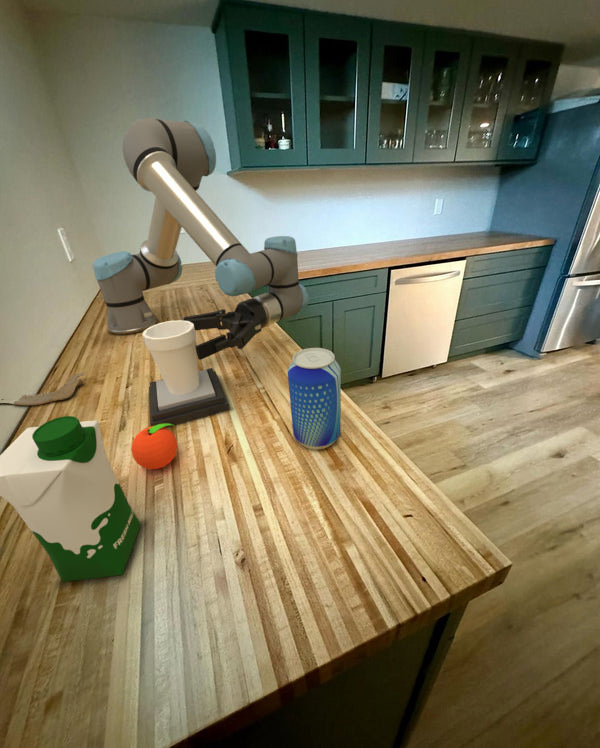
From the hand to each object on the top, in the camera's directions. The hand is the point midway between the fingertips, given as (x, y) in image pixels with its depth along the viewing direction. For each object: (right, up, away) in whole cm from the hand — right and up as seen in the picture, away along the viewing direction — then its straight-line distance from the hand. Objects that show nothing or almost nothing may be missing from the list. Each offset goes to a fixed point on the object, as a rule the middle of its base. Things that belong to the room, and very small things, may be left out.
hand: (178, 344), depth 67 cm
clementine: (+1, -21, -10) cm, 23 cm away
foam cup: (0, -9, +4) cm, 10 cm away
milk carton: (-1, -29, -24) cm, 37 cm away
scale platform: (0, -10, +5) cm, 11 cm away
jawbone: (-37, -10, +13) cm, 41 cm away
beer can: (+27, -17, -7) cm, 33 cm away
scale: (0, -12, +6) cm, 13 cm away
